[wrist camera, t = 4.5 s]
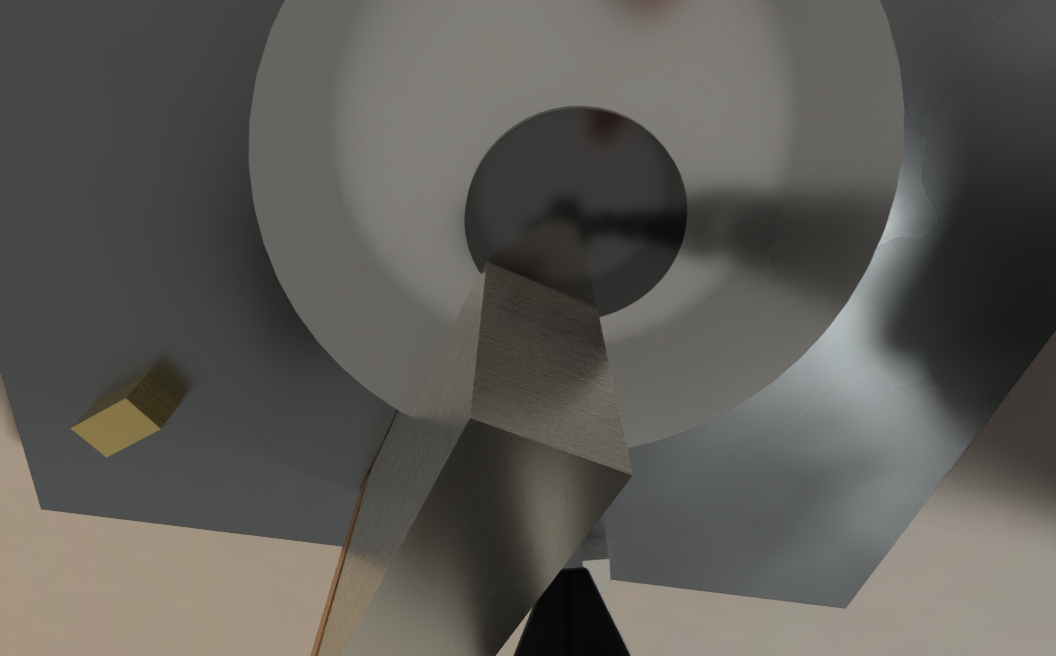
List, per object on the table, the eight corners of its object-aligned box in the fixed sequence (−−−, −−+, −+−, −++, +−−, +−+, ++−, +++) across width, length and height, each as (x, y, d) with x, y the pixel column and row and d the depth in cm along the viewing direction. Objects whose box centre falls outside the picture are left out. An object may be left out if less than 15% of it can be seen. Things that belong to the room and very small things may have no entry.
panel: (-308, -1220, 4) (-767, -1868, 3) (1540, -495, 6) (1884, -643, 5) (80, 462, 12) (18, 535, 11) (822, 560, 14) (858, 635, 13)
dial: (399, -320, 6) (165, -831, 2) (963, 35, 7) (1434, 129, 4) (199, 447, 11) (21, 726, 7) (565, 560, 12) (587, 836, 8)
